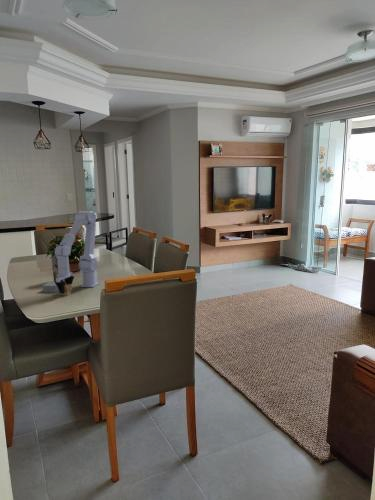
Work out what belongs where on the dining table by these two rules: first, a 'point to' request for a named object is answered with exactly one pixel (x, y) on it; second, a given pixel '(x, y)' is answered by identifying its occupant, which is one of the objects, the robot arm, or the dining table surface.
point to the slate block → (50, 287)
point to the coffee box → (55, 267)
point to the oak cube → (67, 289)
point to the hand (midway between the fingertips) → (65, 291)
